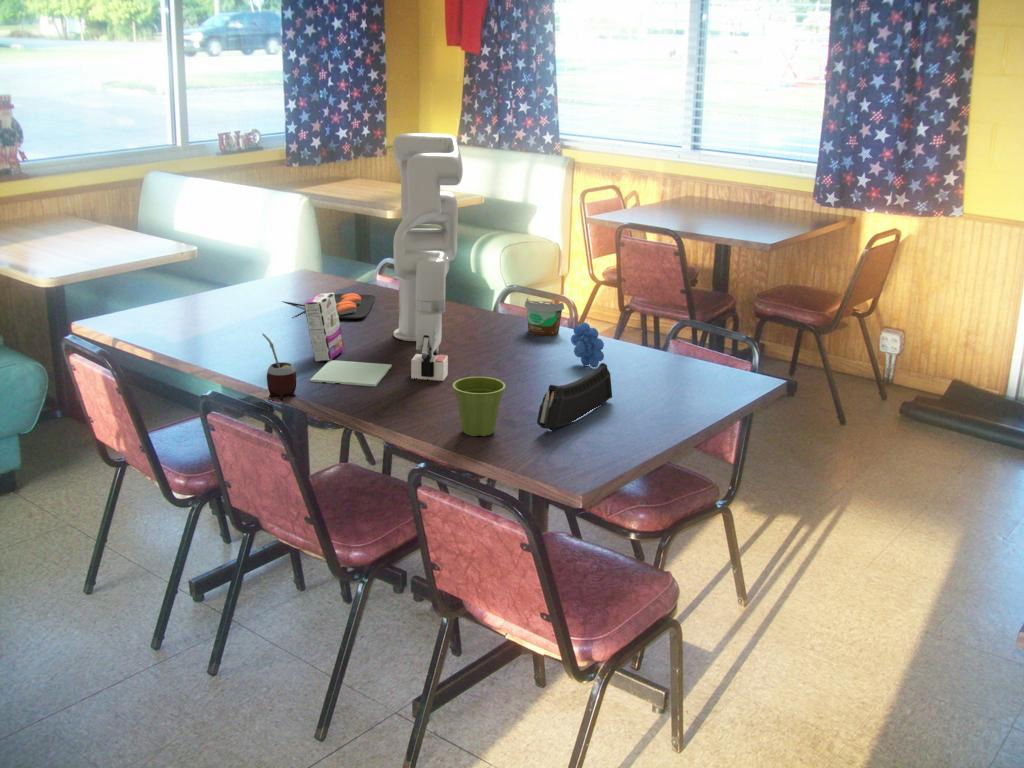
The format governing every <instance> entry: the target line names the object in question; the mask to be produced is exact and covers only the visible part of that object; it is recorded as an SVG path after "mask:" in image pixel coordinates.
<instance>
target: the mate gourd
mask: <svg viewBox="0 0 1024 768" xmlns="http://www.w3.org/2000/svg"><path fill="white" fill-rule="evenodd" d="M261 335H262V336H263V337H264V339H266V341H267V342H268V343H269V347H270V349H271V351H272V355H273V357H274V361H275V362H274V363H271V364H270V365H269V366H268V369H267V373H266V385H267V389H268V393H269V395H268V397H269V398H270V399H272V398H279V400H280V402H284V399H285V398H295V397H296V394H295V392H296V389H297V371H296V368H295V367H294V366H293V365H292V364H291V363H289V362H285V361H284V362H283V361H282V362H279V359H278V357H277V354H276V353H277V352H276V351H275V346H274V343H272V341H271V339H270V338H269V337H268V336H267V335H266V334H265V333H262V334H261Z"/></svg>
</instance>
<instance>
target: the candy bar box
mask: <svg viewBox="0 0 1024 768" xmlns="http://www.w3.org/2000/svg"><path fill="white" fill-rule="evenodd" d="M335 294H336V293H335V292H324V293H323V292H322V293H318V294H317V295H315V296H314V297H312V298H311V299H309V300H307V301H306V302H304V303H303V305H304V306H303V307H304V311H306V313H305V317H306V320H307V327H308V333H309V337H310V342H311V348H312V352H313V353H312V354H313V359H314V362H329V361H331V360H333V359H335V358H336V357H337V356H338V355H340V354H341V353H342V352H343V351H344V350H345V345H344V340H343V334H342V329H341V322H340V319H339V316H338V310H337V305H336V300H335Z"/></svg>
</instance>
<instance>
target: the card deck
mask: <svg viewBox="0 0 1024 768" xmlns="http://www.w3.org/2000/svg"><path fill="white" fill-rule="evenodd" d="M421 359H422V353H415V355H414V356H413V357H412V358H411V360H410V361H411V365H410V373H411V374H410V375H411V377H410V378H411V379H414V378H415V379H416V378H417V379H416V380H427V379H428V380H429V381H440V382H441V381H442V382H443V381H445V379H446V378H447V376H448V375H449V374H448V373H449V370H448V369H449V364H448V363H449V357H448V355H447V354H436V355H433V362H434V376H433V377H424V376H421ZM428 380H427V381H428Z"/></svg>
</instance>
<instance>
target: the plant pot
mask: <svg viewBox="0 0 1024 768" xmlns="http://www.w3.org/2000/svg"><path fill="white" fill-rule="evenodd" d="M452 388H453V389H454V393H455V397H456V398H457V403H458V409H459V416H460V423H461V428H462V429H461V430H462V432H463V433H464V434H465V435H466V436H467V435H468V436H470V437H477V436H481V437H487V435H488V436H491V435H492V434H494V433H495V429H496V425H497V424H496V423H497V419H498V413H499V407H500V402H501V398H502V395H503V392H504V390H505V388H506V384H505V382H503V381H502V380H500V379H498V378H494V377H489V376H469V377H464V378H459V379H457V380H456V381H454V382H453V383H452Z"/></svg>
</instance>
